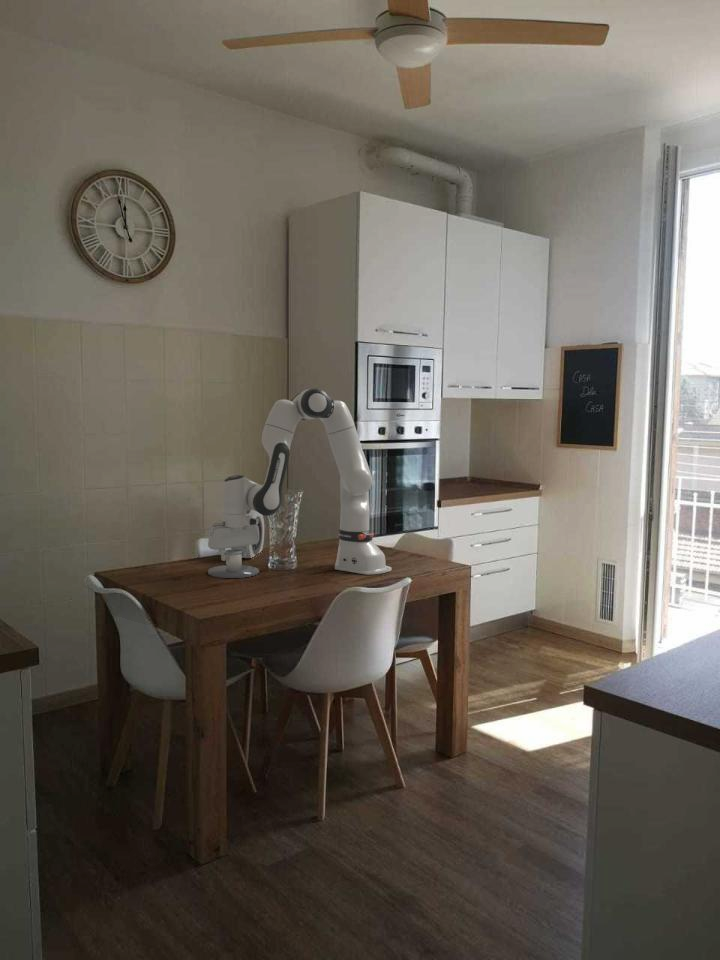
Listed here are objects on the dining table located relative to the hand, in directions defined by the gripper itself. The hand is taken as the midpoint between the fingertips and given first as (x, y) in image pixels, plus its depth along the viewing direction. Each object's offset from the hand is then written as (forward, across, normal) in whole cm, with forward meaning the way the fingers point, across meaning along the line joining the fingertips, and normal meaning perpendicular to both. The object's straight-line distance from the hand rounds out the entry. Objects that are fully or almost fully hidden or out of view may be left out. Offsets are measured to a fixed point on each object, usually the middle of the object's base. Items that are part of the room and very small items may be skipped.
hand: (233, 559), depth 275 cm
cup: (+4, 0, 0) cm, 4 cm away
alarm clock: (+5, +23, +22) cm, 32 cm away
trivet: (+5, 0, 0) cm, 5 cm away
